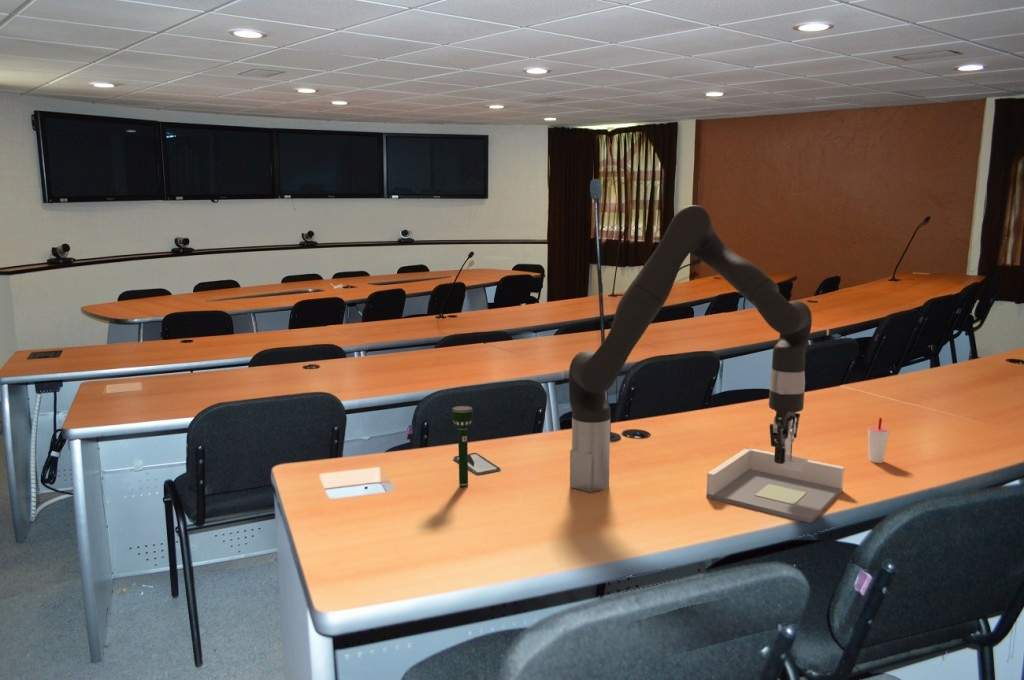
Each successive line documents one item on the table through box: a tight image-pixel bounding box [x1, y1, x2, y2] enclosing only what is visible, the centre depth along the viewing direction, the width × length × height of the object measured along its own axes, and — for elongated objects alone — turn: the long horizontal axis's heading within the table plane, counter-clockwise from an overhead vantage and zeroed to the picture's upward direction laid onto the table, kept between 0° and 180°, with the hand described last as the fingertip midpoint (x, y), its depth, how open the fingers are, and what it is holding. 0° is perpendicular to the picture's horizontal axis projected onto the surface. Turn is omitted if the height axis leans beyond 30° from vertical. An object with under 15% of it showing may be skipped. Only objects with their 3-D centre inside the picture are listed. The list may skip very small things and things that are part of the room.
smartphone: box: [453, 452, 502, 476], centre depth 201 cm, size 7×1×15 cm
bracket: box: [776, 431, 809, 472], centre depth 173 cm, size 6×4×8 cm, turn 52°
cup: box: [867, 417, 891, 464], centre depth 201 cm, size 5×5×12 cm
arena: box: [706, 447, 845, 524], centre depth 179 cm, size 24×24×6 cm
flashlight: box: [451, 404, 474, 489], centre depth 183 cm, size 5×5×20 cm
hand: (782, 459), depth 175 cm, fingers closed on bracket, 4 cm apart
